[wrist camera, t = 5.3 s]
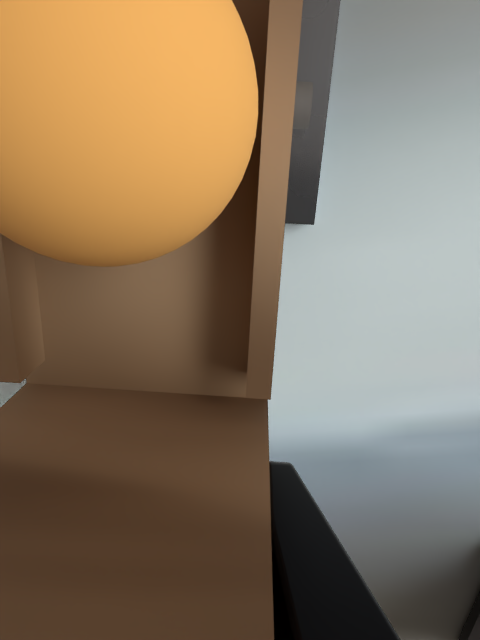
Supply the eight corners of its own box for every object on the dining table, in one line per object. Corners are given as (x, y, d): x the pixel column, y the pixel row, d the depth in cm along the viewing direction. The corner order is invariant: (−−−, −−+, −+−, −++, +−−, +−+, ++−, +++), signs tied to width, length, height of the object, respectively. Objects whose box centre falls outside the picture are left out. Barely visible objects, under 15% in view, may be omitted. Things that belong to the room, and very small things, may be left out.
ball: (244, 295, 4) (277, -257, 3) (-193, 268, 4) (-261, -271, 3) (250, 264, 7) (265, 14, 6) (28, 251, 7) (18, 3, 7)
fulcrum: (312, 220, 11) (323, 247, 9) (53, 206, 11) (5, 229, 9) (341, -34, 9) (365, -78, 7) (18, -48, 9) (-57, -94, 7)
